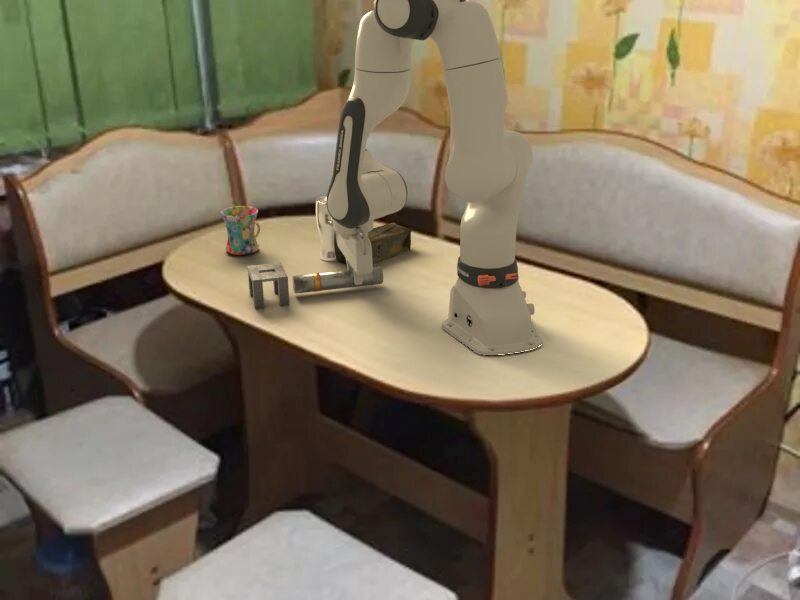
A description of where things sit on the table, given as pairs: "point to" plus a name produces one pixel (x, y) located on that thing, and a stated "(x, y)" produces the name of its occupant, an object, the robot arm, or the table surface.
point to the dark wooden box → (386, 242)
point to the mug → (241, 229)
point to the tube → (334, 280)
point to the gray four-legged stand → (256, 281)
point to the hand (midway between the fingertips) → (355, 279)
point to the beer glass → (326, 231)
